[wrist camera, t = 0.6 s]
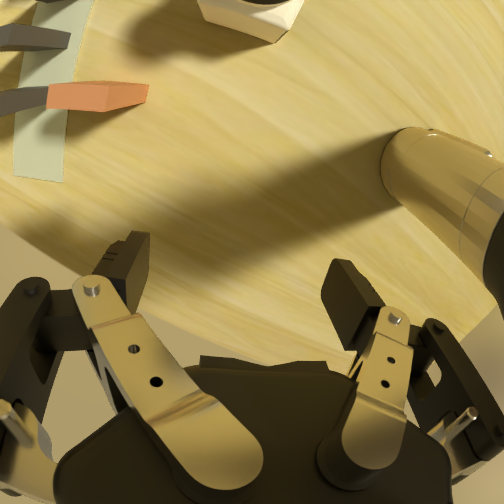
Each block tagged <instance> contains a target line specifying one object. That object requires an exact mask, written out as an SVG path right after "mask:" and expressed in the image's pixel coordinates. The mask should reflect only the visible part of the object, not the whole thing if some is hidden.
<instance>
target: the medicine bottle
mask: <svg viewBox="0 0 504 504" xmlns="http://www.w3.org/2000/svg"><path fill="white" fill-rule="evenodd" d="M304 1H305V0H197V2H198V5H199V7H200V10H201V12H202V14H203V17H204V19H205V21H208V22H211V23H215V24H218V25H222V26H225V27H228V28H231V29H235V30H238V31H241V32H244V33H246V34H249V35H252V36H255V37H258V38H260V39H263V40H266V41H268V42H271V43H276V42H277V41H278V40H279V39H280V38H281V37H282V36H283V35H284V34H285V33H286V32H287V31H289V30H290V28H291V26H292V24H293V22H294V20H295V18H296V16H297V14H298V12H299V10H300V9H301V7H302V5H303V3H304Z"/></svg>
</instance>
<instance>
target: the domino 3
mask: <svg viewBox="0 0 504 504" xmlns="http://www.w3.org/2000/svg"><path fill="white" fill-rule="evenodd" d="M148 89H149V85H146V84H137V83H127V82H114V81H85V82H69V83H57V84H49V88H48V95H47V103H46V109H69V110H85V111H97V112H106V111H110V110H114V109H118V108H122V107H126V106H131V105H135V104H140V103H145V102H146V98H147V93H148Z"/></svg>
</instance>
